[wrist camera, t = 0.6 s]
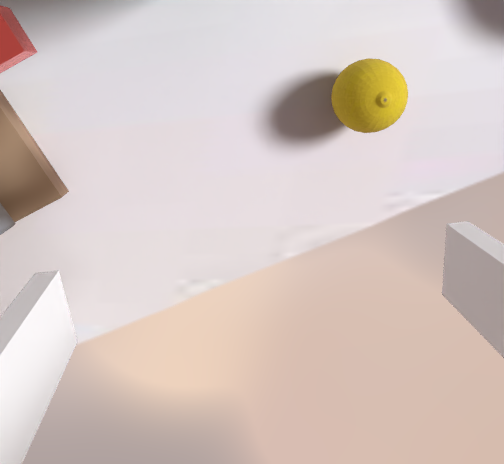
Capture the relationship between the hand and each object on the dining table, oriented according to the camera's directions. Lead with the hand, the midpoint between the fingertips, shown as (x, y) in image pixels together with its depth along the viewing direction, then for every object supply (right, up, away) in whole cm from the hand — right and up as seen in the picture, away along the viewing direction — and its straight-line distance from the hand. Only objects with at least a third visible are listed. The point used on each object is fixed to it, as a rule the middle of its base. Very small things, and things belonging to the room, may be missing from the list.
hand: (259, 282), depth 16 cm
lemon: (+8, +14, +25) cm, 29 cm away
